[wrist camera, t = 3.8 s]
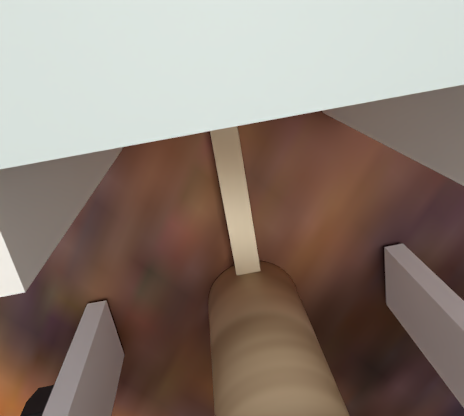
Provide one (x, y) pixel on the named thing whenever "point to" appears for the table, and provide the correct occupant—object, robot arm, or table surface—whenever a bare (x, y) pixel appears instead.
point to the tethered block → (260, 319)
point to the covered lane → (205, 90)
